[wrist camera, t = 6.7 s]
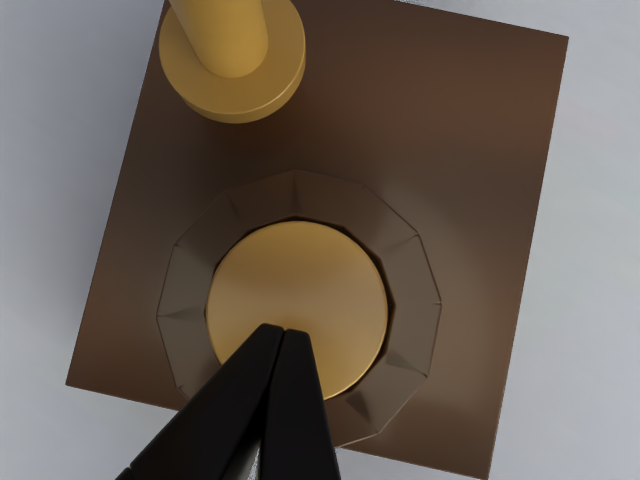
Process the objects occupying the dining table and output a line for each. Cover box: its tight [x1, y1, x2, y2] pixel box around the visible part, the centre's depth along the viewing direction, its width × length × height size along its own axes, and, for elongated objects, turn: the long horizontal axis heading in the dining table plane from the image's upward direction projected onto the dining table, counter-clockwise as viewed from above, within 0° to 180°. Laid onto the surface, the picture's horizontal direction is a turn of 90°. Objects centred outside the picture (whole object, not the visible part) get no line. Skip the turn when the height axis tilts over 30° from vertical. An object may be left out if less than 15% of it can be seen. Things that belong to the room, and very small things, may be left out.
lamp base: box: [65, 0, 569, 480], centre depth 18 cm, size 13×12×7 cm
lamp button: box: [206, 221, 388, 400], centre depth 13 cm, size 4×4×2 cm
